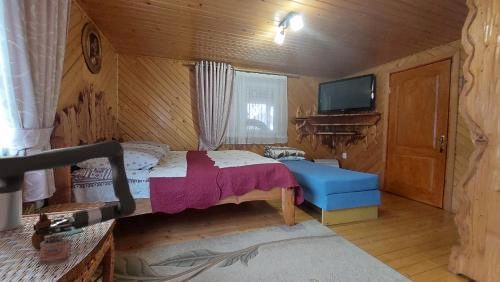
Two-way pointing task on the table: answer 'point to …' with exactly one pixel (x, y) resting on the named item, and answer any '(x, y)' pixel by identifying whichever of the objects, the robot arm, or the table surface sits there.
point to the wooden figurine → (40, 238)
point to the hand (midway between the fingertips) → (34, 229)
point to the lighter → (54, 249)
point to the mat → (72, 231)
